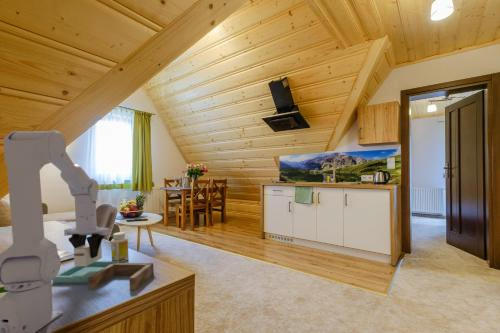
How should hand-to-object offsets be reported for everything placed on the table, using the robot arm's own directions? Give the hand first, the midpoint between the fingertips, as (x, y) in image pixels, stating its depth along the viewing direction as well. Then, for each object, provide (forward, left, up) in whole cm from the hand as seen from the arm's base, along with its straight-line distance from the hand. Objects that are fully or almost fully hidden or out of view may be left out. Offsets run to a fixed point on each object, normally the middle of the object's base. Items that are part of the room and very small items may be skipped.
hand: (87, 257), depth 82 cm
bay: (-5, -15, -6) cm, 17 cm away
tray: (0, 0, -6) cm, 6 cm away
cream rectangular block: (0, 0, -2) cm, 2 cm away
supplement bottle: (+12, -3, -6) cm, 14 cm away
